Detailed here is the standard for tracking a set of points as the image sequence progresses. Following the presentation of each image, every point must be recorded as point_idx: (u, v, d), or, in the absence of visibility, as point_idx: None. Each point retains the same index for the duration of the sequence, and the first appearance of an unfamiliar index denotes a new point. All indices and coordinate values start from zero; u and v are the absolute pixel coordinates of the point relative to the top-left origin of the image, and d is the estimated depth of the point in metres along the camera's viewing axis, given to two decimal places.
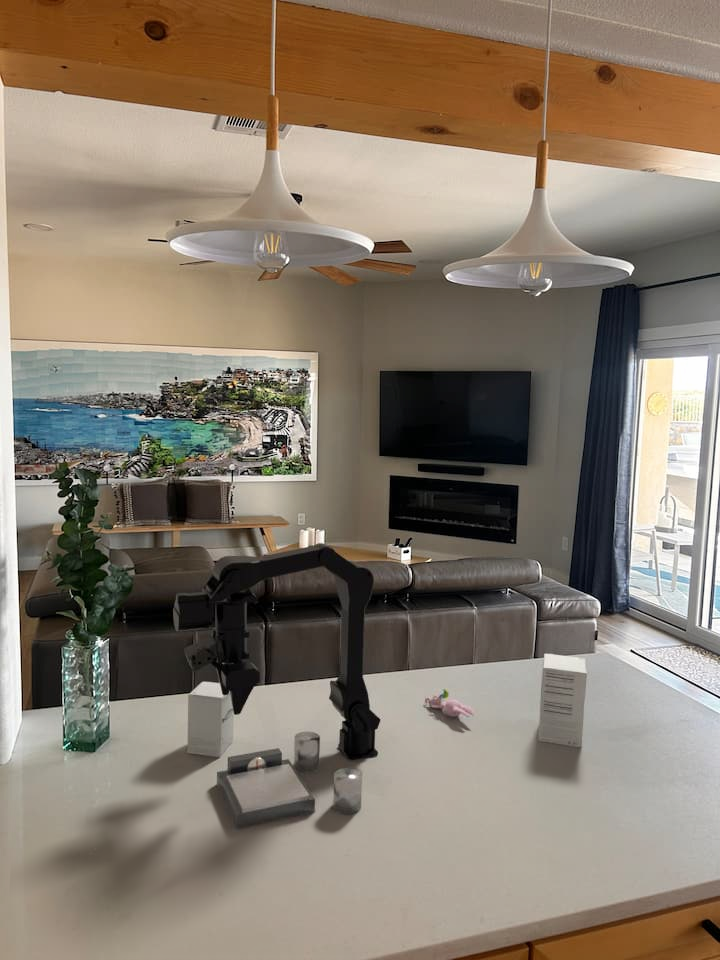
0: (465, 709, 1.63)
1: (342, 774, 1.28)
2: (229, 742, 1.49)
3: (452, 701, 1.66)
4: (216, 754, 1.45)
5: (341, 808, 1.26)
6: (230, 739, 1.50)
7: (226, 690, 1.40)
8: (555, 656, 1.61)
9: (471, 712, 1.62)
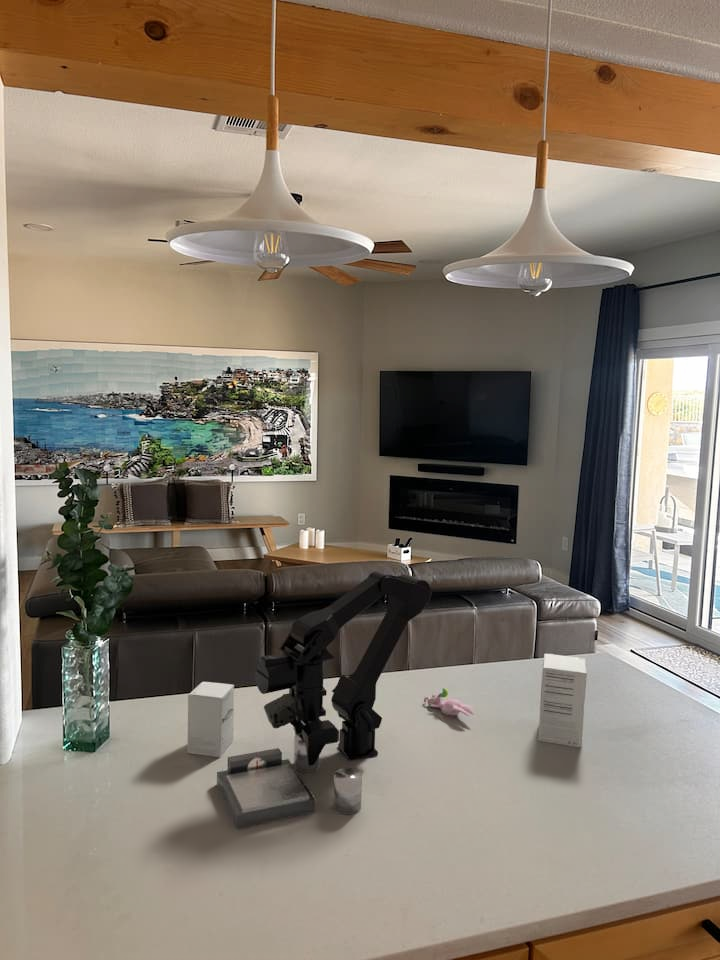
0: (465, 708, 1.64)
1: (342, 774, 1.28)
2: (229, 742, 1.49)
3: (451, 700, 1.66)
4: (216, 754, 1.45)
5: (341, 808, 1.26)
6: (230, 739, 1.50)
7: None
8: (555, 656, 1.61)
9: (471, 711, 1.63)
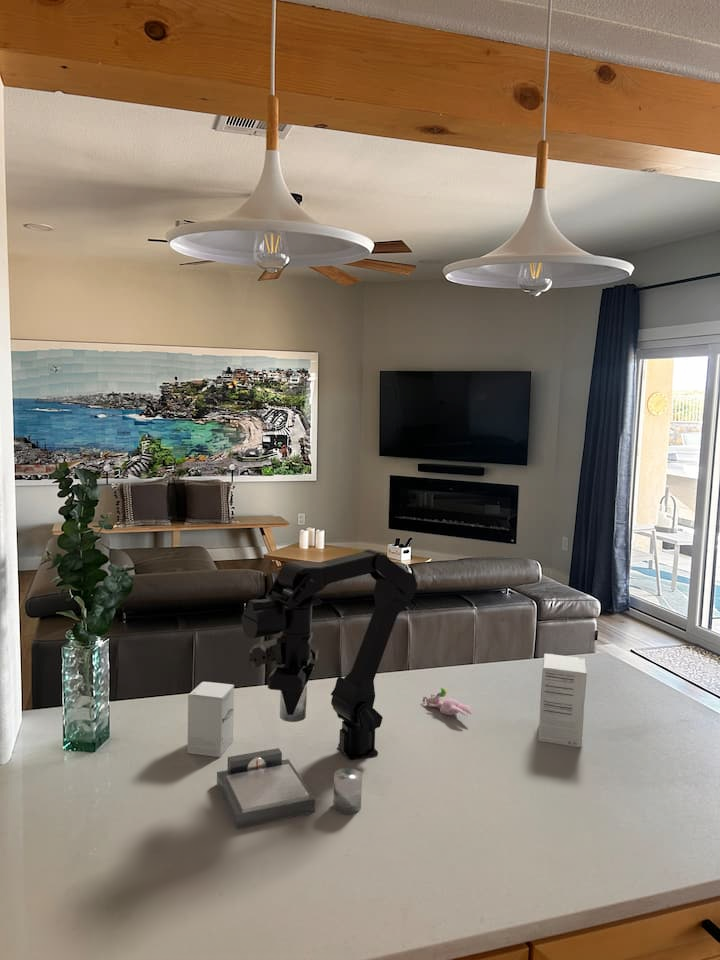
0: (463, 708, 1.64)
1: (342, 774, 1.28)
2: (229, 742, 1.49)
3: (450, 700, 1.67)
4: (216, 754, 1.45)
5: (341, 808, 1.26)
6: (230, 739, 1.50)
7: None
8: (555, 656, 1.61)
9: (469, 711, 1.63)
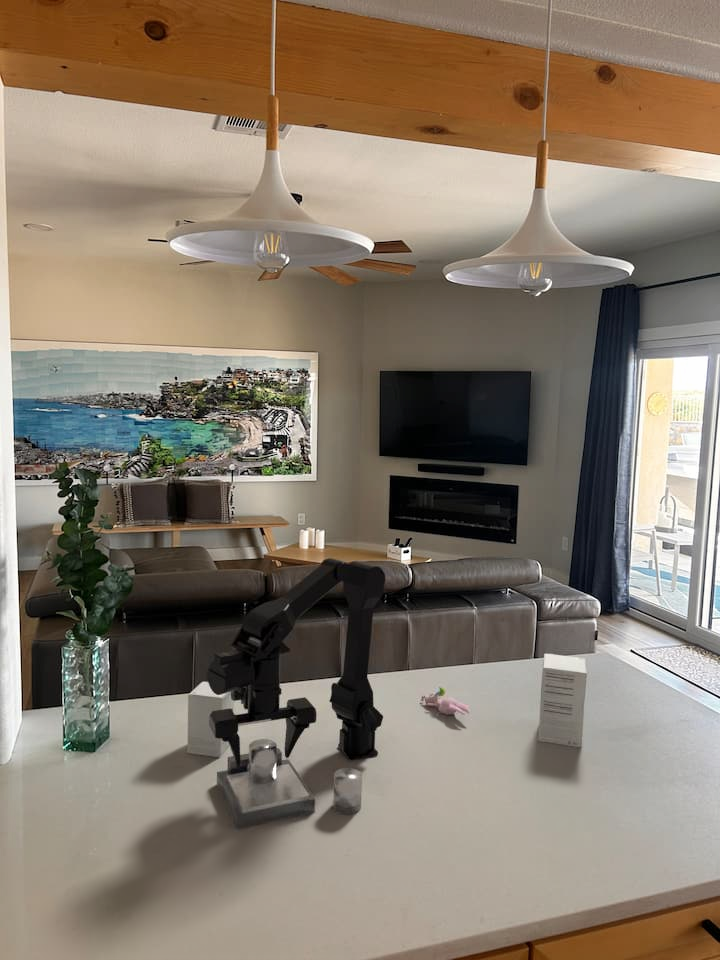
0: (461, 707, 1.65)
1: (342, 774, 1.28)
2: None
3: (448, 699, 1.67)
4: (216, 754, 1.45)
5: (341, 808, 1.26)
6: None
7: (286, 752, 1.33)
8: (555, 656, 1.61)
9: (467, 710, 1.63)
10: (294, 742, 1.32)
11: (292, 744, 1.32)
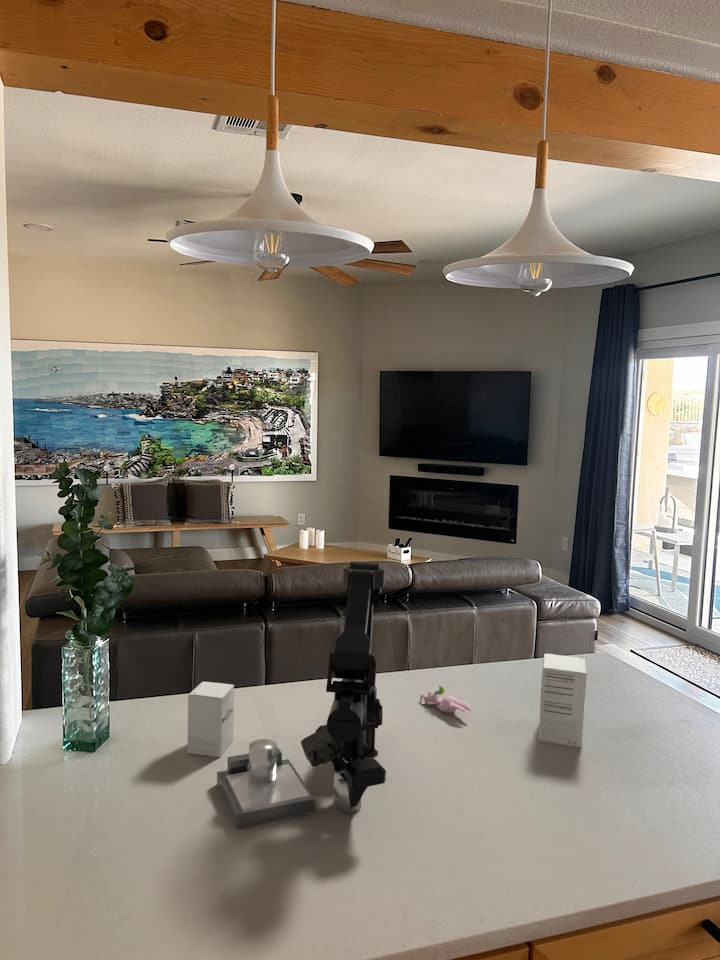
0: (462, 705, 1.66)
1: None
2: (229, 742, 1.49)
3: (448, 697, 1.68)
4: (216, 754, 1.45)
5: (341, 808, 1.26)
6: (230, 739, 1.50)
7: None
8: (555, 656, 1.61)
9: (468, 708, 1.65)
10: None
11: None
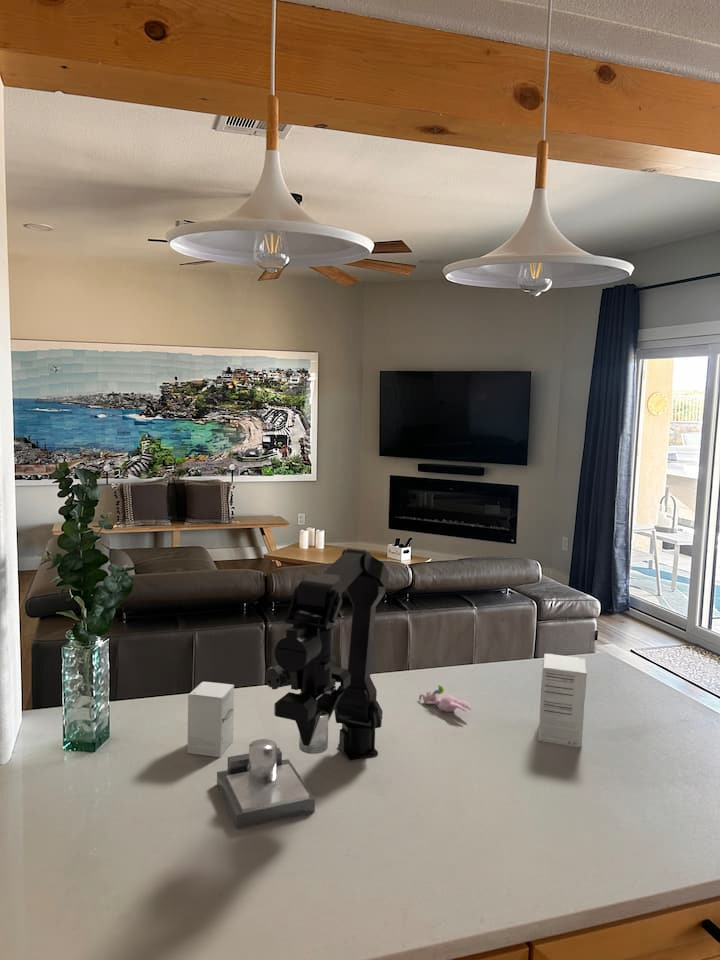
0: (462, 704, 1.66)
1: None
2: (229, 742, 1.49)
3: (448, 696, 1.69)
4: (216, 754, 1.45)
5: (299, 743, 1.25)
6: (230, 739, 1.50)
7: None
8: (555, 656, 1.61)
9: (468, 706, 1.65)
10: (331, 713, 1.28)
11: (330, 715, 1.28)
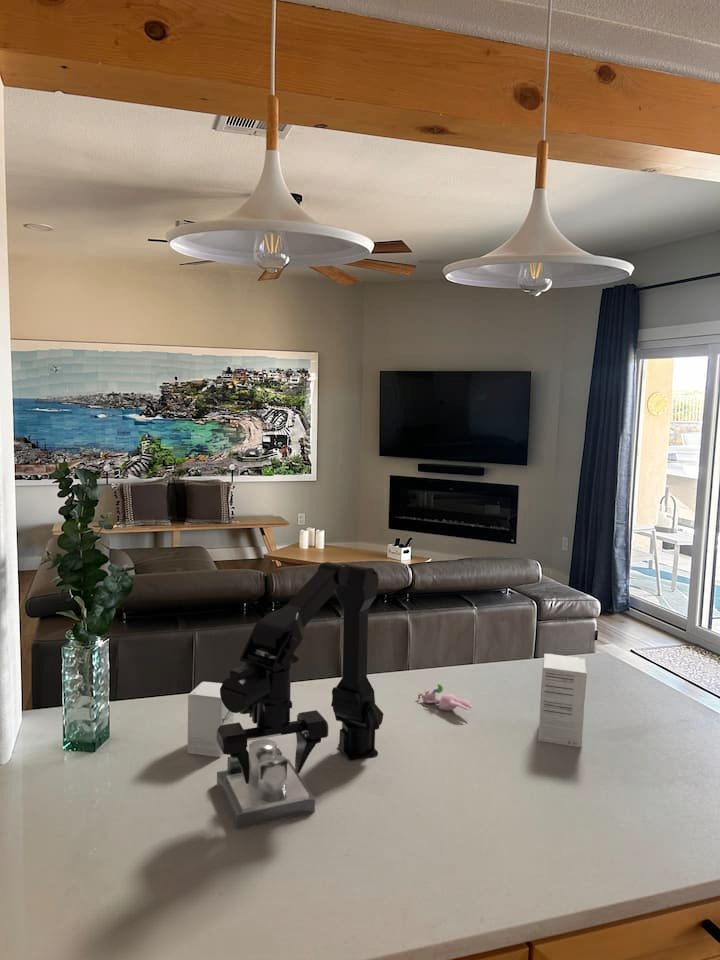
0: (462, 702, 1.67)
1: (274, 758, 1.27)
2: None
3: (448, 695, 1.69)
4: (216, 754, 1.45)
5: None
6: None
7: (296, 768, 1.27)
8: (555, 656, 1.61)
9: (468, 705, 1.66)
10: (305, 757, 1.26)
11: (303, 759, 1.26)
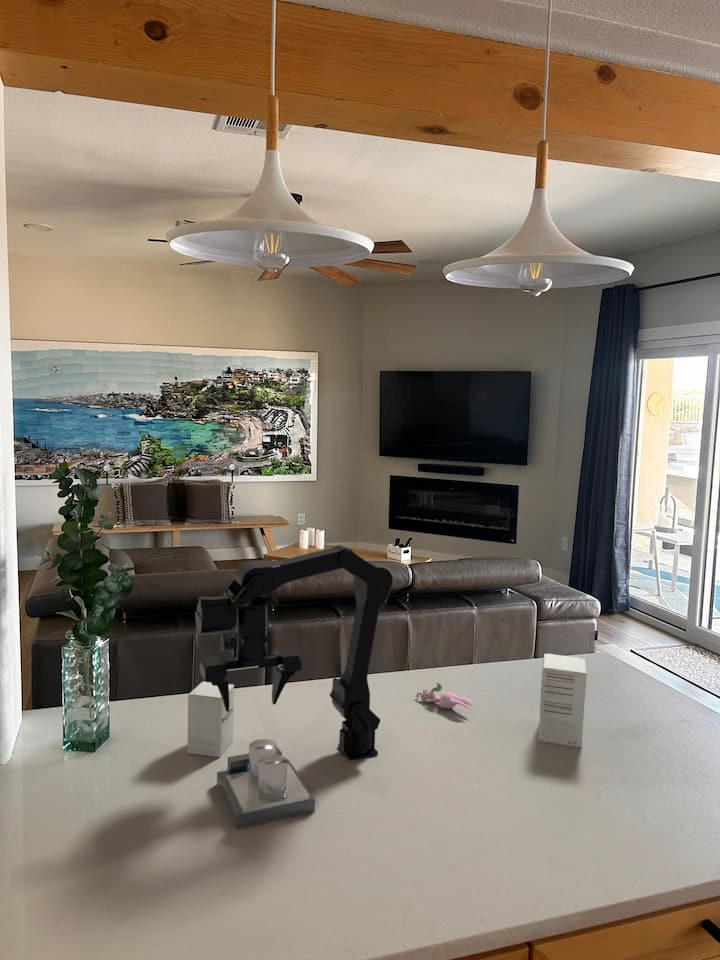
0: (462, 700, 1.68)
1: (274, 758, 1.27)
2: (229, 742, 1.49)
3: (448, 693, 1.70)
4: (216, 754, 1.45)
5: None
6: (230, 739, 1.50)
7: (273, 699, 1.40)
8: (555, 656, 1.61)
9: (468, 702, 1.67)
10: (280, 689, 1.38)
11: (279, 690, 1.38)
